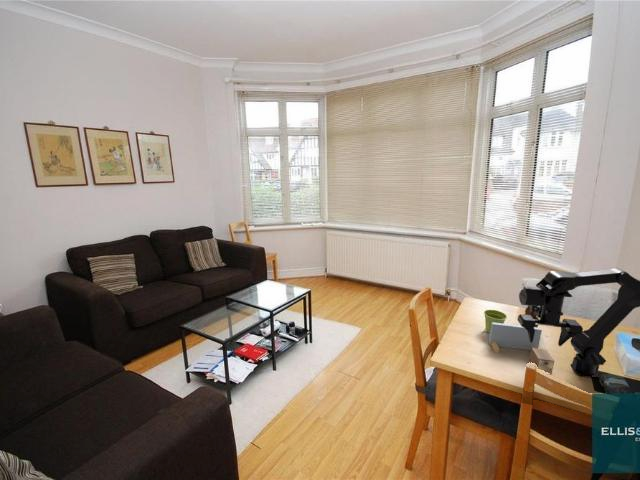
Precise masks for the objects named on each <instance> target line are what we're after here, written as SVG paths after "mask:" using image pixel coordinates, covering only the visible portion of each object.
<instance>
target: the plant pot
mask: <svg viewBox="0 0 640 480" xmlns="http://www.w3.org/2000/svg"><path fill="white" fill-rule="evenodd" d="M483 314H484V317H485V318H484V319H485V320H484V321H485V323H484V324H485V331H486V332H487V333H488V334H490V331H491V325H492V322H494V323H502V324H505V321H506V320H507V319H508V315H507V314H506V313H504V312H502V311H500V310H497V309H486V310H483Z"/></svg>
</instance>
